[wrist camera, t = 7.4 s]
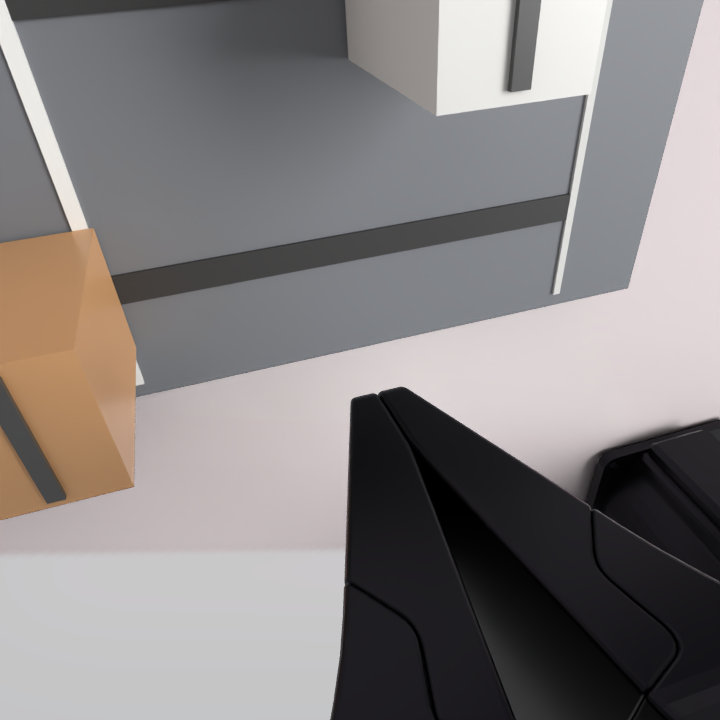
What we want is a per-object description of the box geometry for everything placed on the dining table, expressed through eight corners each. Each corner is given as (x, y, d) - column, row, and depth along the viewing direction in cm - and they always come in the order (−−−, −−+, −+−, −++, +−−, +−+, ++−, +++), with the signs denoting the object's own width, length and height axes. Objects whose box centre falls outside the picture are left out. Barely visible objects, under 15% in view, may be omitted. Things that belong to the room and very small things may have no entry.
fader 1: (136, 347, 14) (134, 491, 10) (26, 369, 13) (-16, 528, 10) (93, 227, 12) (72, 353, 8) (-36, 249, 11) (-115, 391, 8)
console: (603, 269, 18) (629, 289, 17) (-110, 421, 14) (-129, 457, 13) (699, -156, 12) (749, -164, 11) (-499, -98, 8) (-589, -102, 7)
